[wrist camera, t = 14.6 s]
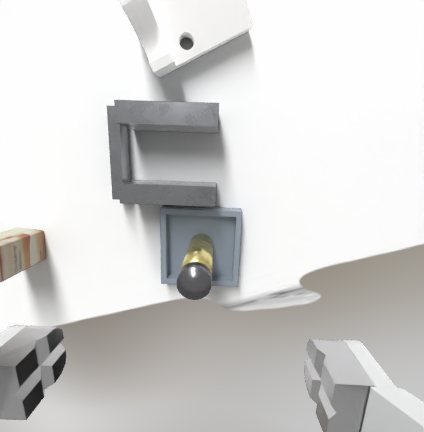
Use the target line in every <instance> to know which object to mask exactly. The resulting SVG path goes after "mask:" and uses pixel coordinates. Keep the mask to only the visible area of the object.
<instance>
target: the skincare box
mask: <svg viewBox="0 0 424 432" xmlns="http://www.w3.org/2000/svg"><path fill="white" fill-rule="evenodd" d="M44 259H45V241H44V231H43V230H36V229H27V228H15V229H11V230H8V231H5V232H1V233H0V282H2V281H4V280H6V279H8V278H10V277H12V276H14V275H16V274H18V273H19V272H21V271H23V270H25V269H27V268H29V267H31V266H33V265H35V264H37V263H38V262H40V261H42V260H44Z"/></svg>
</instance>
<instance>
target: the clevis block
mask: <svg viewBox="0 0 424 432" xmlns="http://www.w3.org/2000/svg"><path fill="white" fill-rule="evenodd" d="M114 102H115V106H107V115H108V131H109V148H110V164H111V180H112V196H113V199H120V203H125V204H154V205H182V206H210V207H215V202H216V183H208V182H179V181H149V180H133V181H130V158H129V135H128V128H129V129H132V130H140V131H172V132H205V133H218V119H219V103H200V102H166V101H131V100H114Z"/></svg>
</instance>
